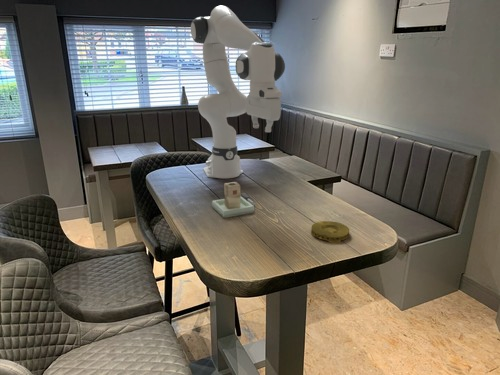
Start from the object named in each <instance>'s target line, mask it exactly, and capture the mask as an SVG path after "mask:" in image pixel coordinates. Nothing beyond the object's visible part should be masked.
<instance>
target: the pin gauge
mask: <svg viewBox="0 0 500 375" xmlns="http://www.w3.org/2000/svg"><path fill="white" fill-rule="evenodd" d="M240 196H241V197H243V198H244V199H245V200H247V201H248V202H249V203H251V204H252V205H253V206H256V205H257V202H255V201H253V200H252V199H251V197H250V196H249V195H248V194H247V193H245V192H243V193H240Z"/></svg>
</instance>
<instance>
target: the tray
mask: <svg viewBox="0 0 500 375" xmlns="http://www.w3.org/2000/svg"><path fill="white" fill-rule="evenodd" d="M240 201H241V207H240V208H235V209H228V208H226V207H225V198H222V199H221V198H220V199H214V200H211V207H212V208H213V209H214V210H215V211H216V212H217V213H218V214H219V215H220V216H221V217H222V218H223V219H226V218H231V217H237V216H243V215H248V214H253V213H255V205H253V204H252V203H250V202H249V201H247V200H245V199H244V198H243V197H241V195H240Z"/></svg>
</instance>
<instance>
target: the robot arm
mask: <svg viewBox="0 0 500 375" xmlns="http://www.w3.org/2000/svg"><path fill="white" fill-rule="evenodd" d="M190 35H191V37H192V40H193V41H194V42H195V43H197V44H202V60H203V66H204V70H205V77H206V81H207V83H208V85H210V86H212V88H213V87H214V88H215V89H216V91H217V93H209V94H207V95H203V96H202V97H200V98H199V100H198V103H197V108H198V112H199V114H200V115H201V116H202V117H203V119H205V120H206V121H207V122H208V123H209V126H210V128H211V132H212V143H213V144H212V145H213V146H212V148H211V155H210V156H209V157H208V158H207V160H206V161H205V166H204V167H203V172H204V174H205V175H206V177H207V178H217V179H234V178H237V177H239V176H240V175H241V174H243V173H244V170H243V169H242V168H241V157H240V156H239V155H238V145H237V131H236V129H235V128H234V127H233V126H232V125H230V124H229V123H228V120H227V118H229V117H230V118H231V117H233V118H234V117H239V116H240V115H243V114H247V115H248V116H251V121H252V127H253V128H254V129H259V127H260V123H259V120H258V119H259V118H260V119H262V120H265V122H266V126H265V127H264V132H265V133H271V132H272V127H273V124H274V122H275V121H279V120H280V118H281V113H282V111H281V110H282V102H281V98H282V97H283V96H282V95H283V92H282V91H281V89H279V87H277V86H276V82H277V81H278V80H279V79H281V77H282V76H283V74H284V73H285V69H286V63H285V60H284V58H283V56H282V55H281V54H280V53H279V52H277V51H275V46H274V45H273V44H272V43H270V42H267V41H265V40H263V39H262V37H260V35H258V34H257V32H255V31H253V30H251V28H249V27H248V26H246V25H245V24H244V23H243V22H242V21H241V20H240V19H239V17H238V16H237V14H235V13H234V12H233V11H232V9H230V7H228V6H226V5H221V4H220V5H218V6H215V7H214V8H213V9H212V10H211V12H210V16H209V15H208V16H198V17H195V18H194V19H193V20H192V21H191V23H190ZM226 47H227V48H230V49H237V50H244V51H246V52H243V53H240V54H239V56H238V57H237V58H236V60H235V73H236V75H237V77H239V78H240V79H241V80H244V81H249V92H248V95H247V96H246V95H245V94H244V93H243V92H241V91H240V90H239V88H238V87H237V86H236V84H235V82H234V80H233V78H232V75H231V70H230V65H229V61H228V56H227V53H226V52H227V51H226Z"/></svg>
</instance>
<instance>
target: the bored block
mask: <svg viewBox="0 0 500 375" xmlns="http://www.w3.org/2000/svg"><path fill="white" fill-rule="evenodd" d="M223 187H224V188H223V190H224V192H223V193H224V199H225V207H226V208H228V209H235V208H240V207H241V201H240V196H241V184H239V183H238V182H237V181H232V182H225V183H224V186H223Z"/></svg>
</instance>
